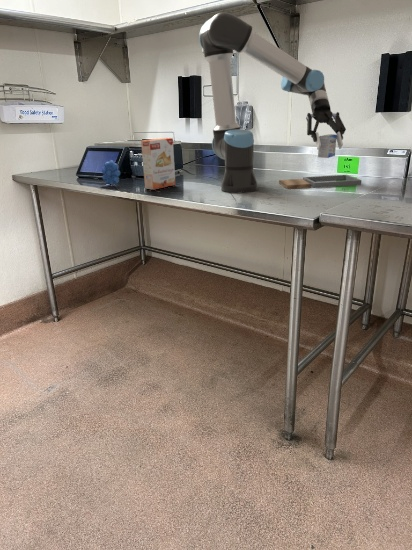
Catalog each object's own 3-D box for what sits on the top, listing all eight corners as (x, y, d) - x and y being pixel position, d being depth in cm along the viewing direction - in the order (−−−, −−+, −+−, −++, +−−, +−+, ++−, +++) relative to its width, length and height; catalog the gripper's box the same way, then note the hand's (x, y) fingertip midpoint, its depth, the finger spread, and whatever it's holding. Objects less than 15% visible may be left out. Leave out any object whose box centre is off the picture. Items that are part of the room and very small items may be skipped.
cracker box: (154, 191, 176) (149, 140, 168) (144, 190, 180) (139, 140, 172) (176, 186, 186) (173, 137, 178) (167, 184, 189) (163, 137, 181)
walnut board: (287, 189, 169) (287, 185, 168) (279, 183, 181) (279, 180, 180) (310, 187, 170) (311, 183, 169) (301, 182, 182) (301, 178, 181)
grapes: (128, 185, 191) (125, 159, 187) (117, 188, 186) (114, 161, 182) (111, 184, 198) (108, 158, 193) (100, 186, 193) (96, 160, 188)
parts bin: (313, 187, 169) (314, 182, 168) (302, 181, 182) (302, 177, 182) (360, 185, 170) (361, 180, 169) (346, 179, 184) (346, 174, 183)
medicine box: (327, 158, 167) (329, 135, 164) (317, 157, 170) (319, 135, 166) (335, 156, 173) (337, 134, 169) (325, 155, 175) (326, 134, 172)
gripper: (340, 110, 179) (352, 152, 171) (293, 111, 178) (302, 153, 169) (347, 96, 172) (358, 139, 164) (297, 98, 171) (307, 141, 162)
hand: (330, 146), depth 166 cm, fingers closed on medicine box, 8 cm apart
